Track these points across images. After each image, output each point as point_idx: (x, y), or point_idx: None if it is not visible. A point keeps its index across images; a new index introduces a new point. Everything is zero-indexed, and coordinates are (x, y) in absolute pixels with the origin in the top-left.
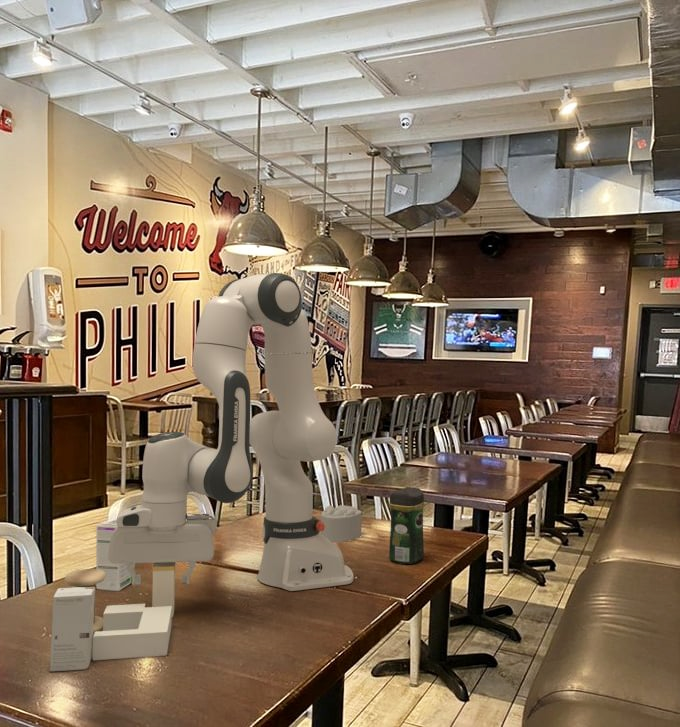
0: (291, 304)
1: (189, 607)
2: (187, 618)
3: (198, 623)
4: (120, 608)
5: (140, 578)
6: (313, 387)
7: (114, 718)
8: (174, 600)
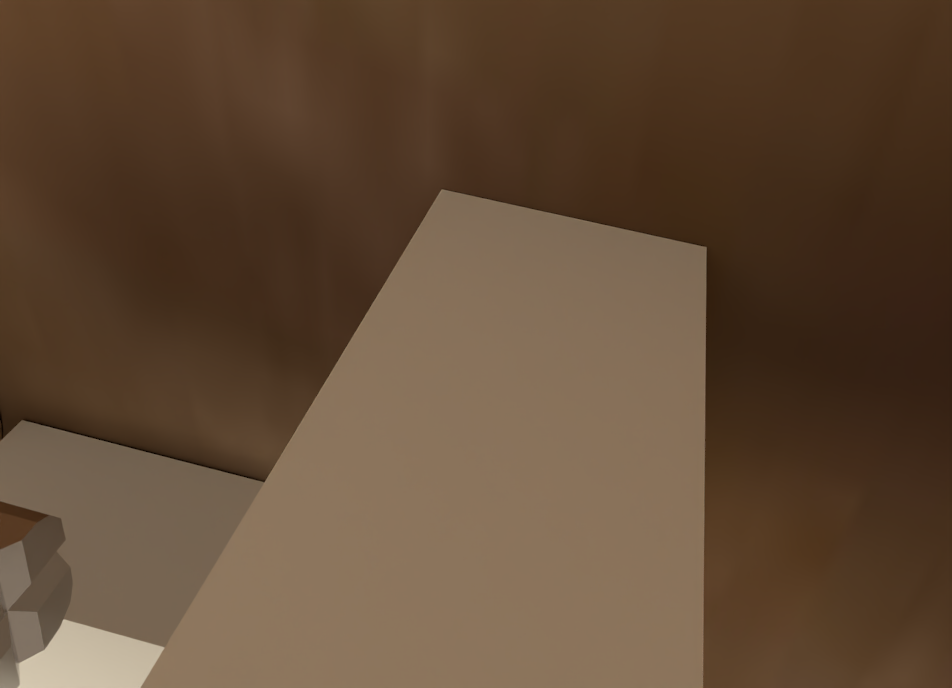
0: None
1: (934, 248)
2: (785, 534)
3: (851, 665)
4: (38, 674)
5: (2, 622)
6: None
7: None
8: (705, 314)
